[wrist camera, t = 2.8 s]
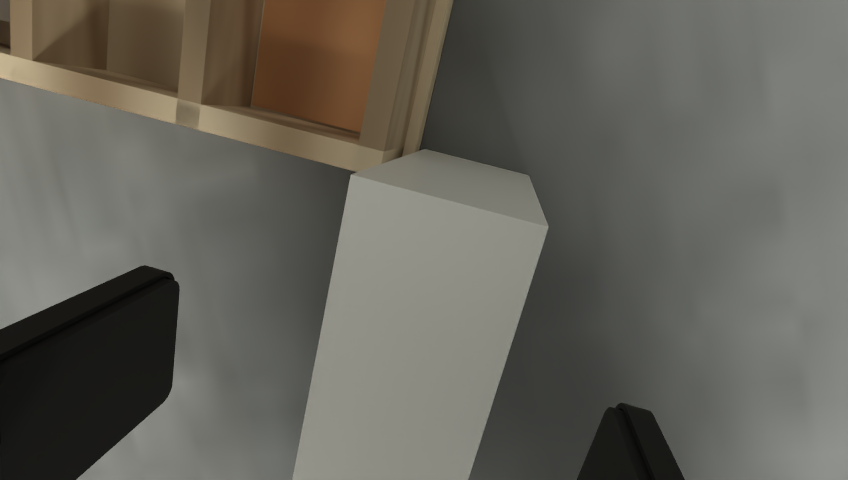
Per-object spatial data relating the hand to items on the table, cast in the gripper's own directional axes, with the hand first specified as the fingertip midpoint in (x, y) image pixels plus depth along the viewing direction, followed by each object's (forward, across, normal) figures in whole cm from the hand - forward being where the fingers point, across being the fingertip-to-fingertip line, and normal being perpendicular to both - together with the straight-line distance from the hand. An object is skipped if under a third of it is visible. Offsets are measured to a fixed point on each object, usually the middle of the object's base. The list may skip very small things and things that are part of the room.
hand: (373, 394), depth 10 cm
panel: (+10, -1, +1) cm, 10 cm away
